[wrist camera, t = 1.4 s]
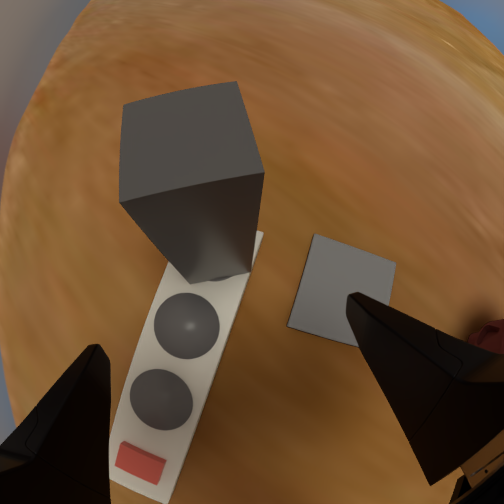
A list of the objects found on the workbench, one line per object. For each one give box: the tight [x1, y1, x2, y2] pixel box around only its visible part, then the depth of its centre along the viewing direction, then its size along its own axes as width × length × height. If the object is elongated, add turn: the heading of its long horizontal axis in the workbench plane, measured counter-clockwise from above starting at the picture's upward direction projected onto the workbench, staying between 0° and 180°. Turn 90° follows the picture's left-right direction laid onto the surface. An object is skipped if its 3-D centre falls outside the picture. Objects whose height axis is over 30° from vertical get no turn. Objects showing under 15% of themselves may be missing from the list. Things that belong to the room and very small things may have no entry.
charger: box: [119, 81, 265, 284], centre depth 15 cm, size 5×4×13 cm
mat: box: [287, 234, 396, 347], centre depth 23 cm, size 8×8×1 cm
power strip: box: [109, 231, 263, 504], centre depth 19 cm, size 24×6×3 cm, turn 161°
